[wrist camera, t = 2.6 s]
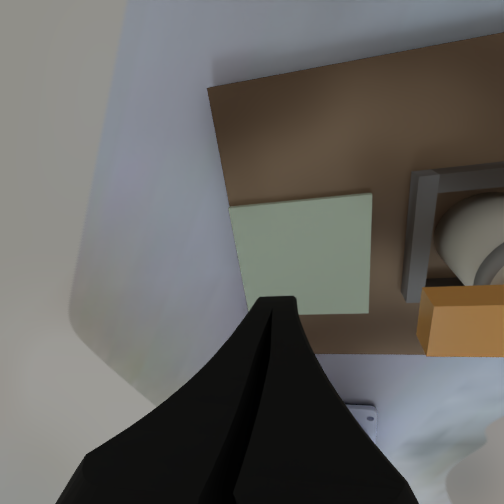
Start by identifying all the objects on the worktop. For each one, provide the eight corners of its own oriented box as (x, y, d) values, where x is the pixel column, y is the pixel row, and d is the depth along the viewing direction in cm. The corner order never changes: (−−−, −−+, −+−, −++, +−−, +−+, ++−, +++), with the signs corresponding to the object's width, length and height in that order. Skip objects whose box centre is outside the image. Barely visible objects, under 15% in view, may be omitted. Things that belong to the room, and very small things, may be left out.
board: (582, 342, 17) (721, 465, 11) (259, 342, 21) (243, 434, 15) (743, -11, 10) (1325, -153, 4) (213, 88, 14) (150, 82, 8)
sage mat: (367, 309, 17) (368, 313, 17) (249, 312, 19) (249, 315, 18) (370, 192, 14) (372, 194, 14) (229, 206, 15) (228, 208, 15)
